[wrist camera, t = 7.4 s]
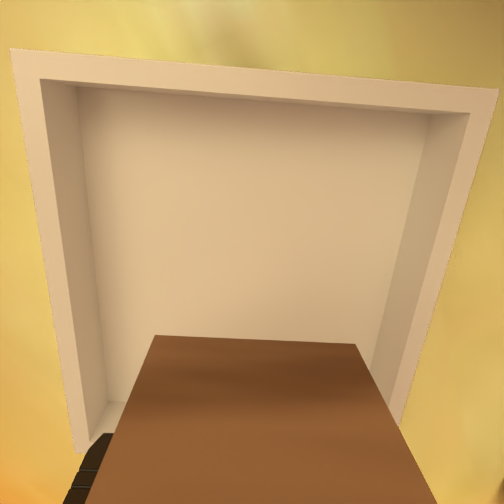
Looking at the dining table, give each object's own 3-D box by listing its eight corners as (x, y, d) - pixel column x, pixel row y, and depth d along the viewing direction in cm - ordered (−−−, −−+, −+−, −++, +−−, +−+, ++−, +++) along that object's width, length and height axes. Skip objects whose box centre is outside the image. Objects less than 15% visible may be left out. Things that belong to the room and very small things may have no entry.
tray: (60, 64, 17) (9, 47, 13) (446, 96, 18) (500, 89, 14) (100, 403, 25) (74, 453, 21) (367, 411, 26) (388, 460, 22)
